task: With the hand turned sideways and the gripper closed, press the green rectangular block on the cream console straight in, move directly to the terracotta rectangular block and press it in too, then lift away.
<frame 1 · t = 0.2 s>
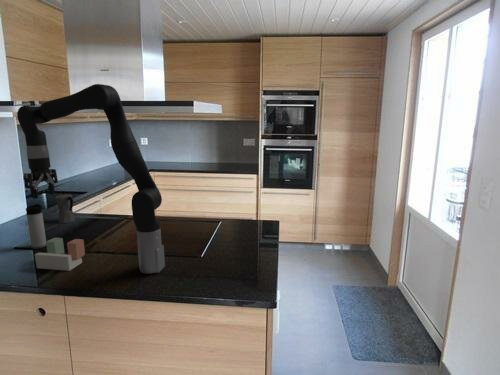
hand: (43, 196, 140), 29 cm above the worktop, tool pointing down, fingers open, 8 cm apart
coffeepot: (68, 221, 201), on the worktop
terracotta rectangular block: (76, 249, 145), point 6 cm above the worktop, slide at 0.0 cm
console: (61, 264, 144), on the worktop
green rectangular block: (55, 247, 147), point 6 cm above the worktop, slide at 0.0 cm
travel mug: (39, 246, 163), on the worktop
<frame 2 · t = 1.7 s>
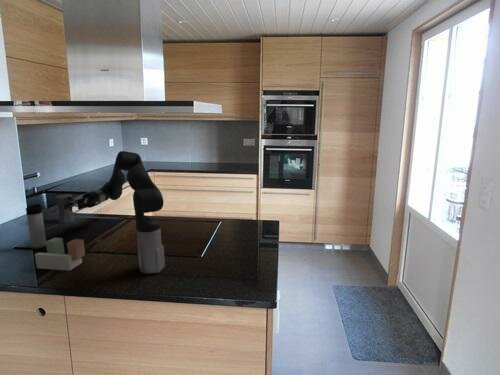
hand: (71, 207, 156), 20 cm above the worktop, tool horizontal, fingers open, 6 cm apart
nothing on the worktop moved.
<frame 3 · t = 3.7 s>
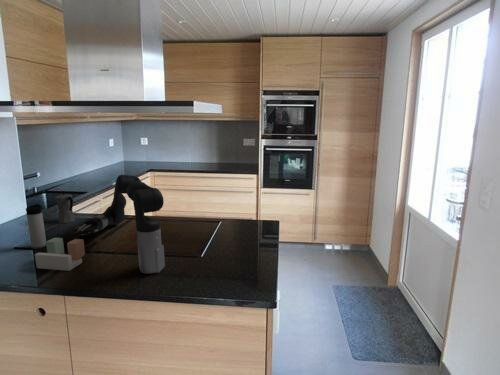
hand: (74, 235, 159), 7 cm above the worktop, tool horizontal, fingers closed
nothing on the worktop moved.
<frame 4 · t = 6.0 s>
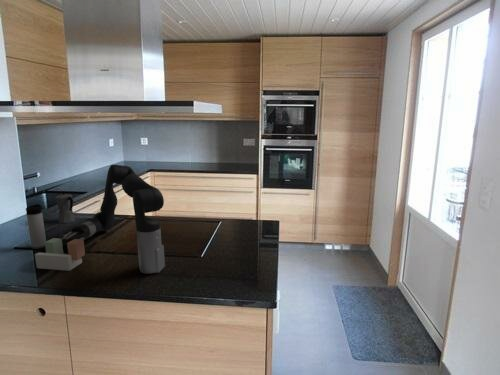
hand: (58, 244, 148), 6 cm above the worktop, tool horizontal, fingers closed
green rectangular block: (54, 248, 146), point 6 cm above the worktop, slide at 0.6 cm, touching gripper
everything else where it was.
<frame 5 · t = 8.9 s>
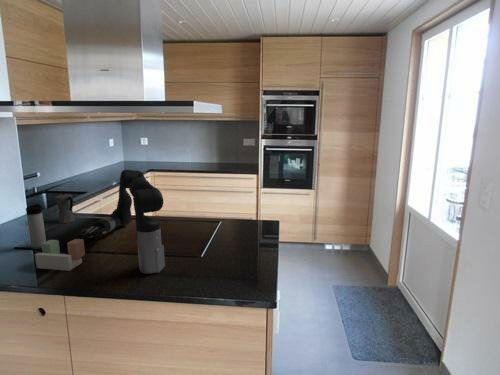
hand: (82, 237, 157), 6 cm above the worktop, tool horizontal, fingers closed
green rectangular block: (51, 249, 144), point 6 cm above the worktop, slide at 2.5 cm
everything else where it was.
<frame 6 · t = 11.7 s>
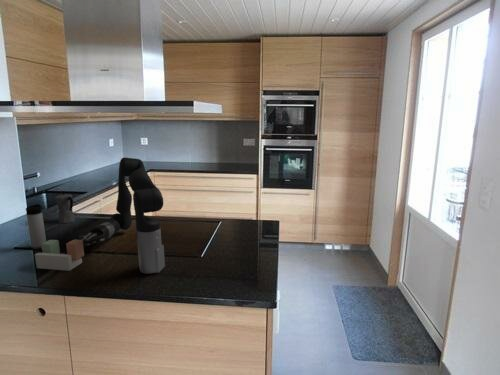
hand: (79, 245, 147), 6 cm above the worktop, tool horizontal, fingers closed
terracotta rectangular block: (75, 249, 145), point 6 cm above the worktop, slide at 0.6 cm, touching gripper
everything else where it was.
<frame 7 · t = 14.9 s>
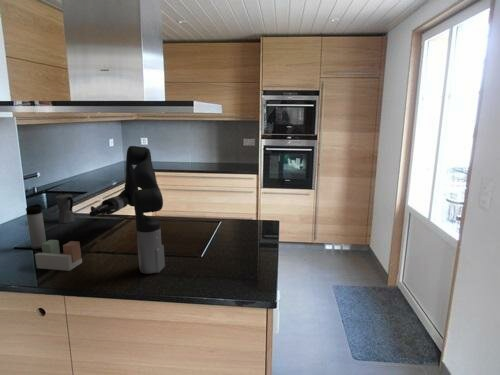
hand: (91, 214, 154), 17 cm above the worktop, tool horizontal, fingers closed
terracotta rectangular block: (72, 251, 143), point 6 cm above the worktop, slide at 2.6 cm
everything else where it was.
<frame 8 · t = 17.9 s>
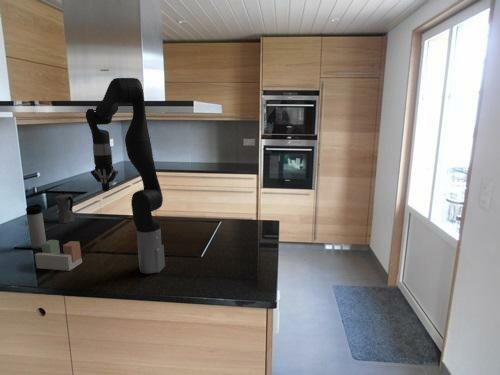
hand: (106, 191, 158), 27 cm above the worktop, tool pointing down, fingers closed
nothing on the worktop moved.
at the end: green rectangular block slide at 2.5 cm; terracotta rectangular block slide at 2.6 cm; travel mug moved 0.2 cm from its start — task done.
